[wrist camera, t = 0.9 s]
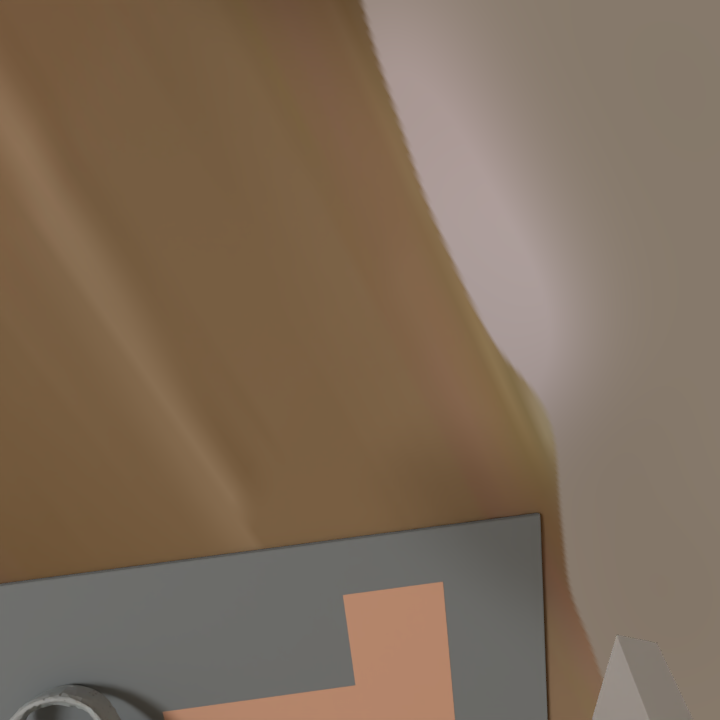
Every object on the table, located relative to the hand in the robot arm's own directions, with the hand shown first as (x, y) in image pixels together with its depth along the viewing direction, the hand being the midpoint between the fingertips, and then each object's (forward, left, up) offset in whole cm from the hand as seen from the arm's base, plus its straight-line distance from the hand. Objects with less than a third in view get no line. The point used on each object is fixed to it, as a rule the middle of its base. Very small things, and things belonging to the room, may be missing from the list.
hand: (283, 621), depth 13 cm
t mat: (+20, -5, -15) cm, 26 cm away
